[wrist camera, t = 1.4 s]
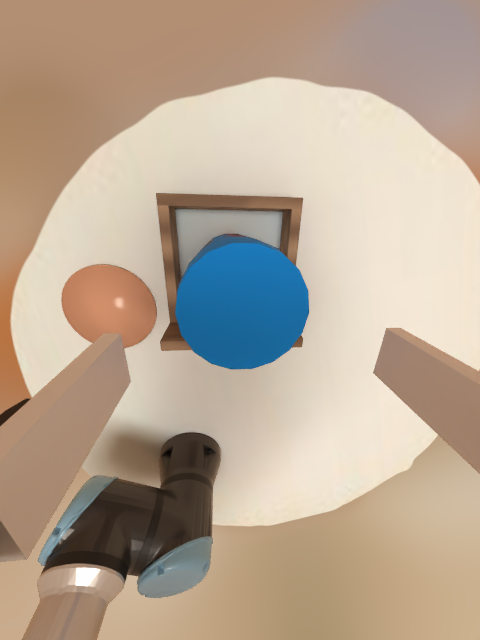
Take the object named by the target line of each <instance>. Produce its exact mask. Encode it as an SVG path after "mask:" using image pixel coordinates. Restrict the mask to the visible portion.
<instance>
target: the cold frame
mask: <svg viewBox="0 0 480 640" xmlns="http://www.w3.org/2000/svg"><path fill="white" fill-rule="evenodd" d="M156 197H157V206H158V215H159V224H160V233H161V243H162V252H163V261H164V270H165V279H166V288H167V297H168V307H169V316H170V324H169V326H168V328H167V330H166V331H165V333H164V335H163V337H162V339H161V341H160V344H161V351H169V350H192V349H191V347H190V346H189V345H188V343H187V342H186V341H185V339H184V338H183V337H182V335H181V333H180V329H179V326H178V322H177V319H176V315H175V310H176V300H177V290H178V285H179V283H180V281H181V276H180V264H179V252H178V240H177V228H176V216H175V209H209V210H247V211H283V220H282V232H281V244H280V251H281V252H282V253H283V254H284V255H285V256H286V257H287V258H288V259H289V260H290V261H291V262H292V263H293V264H294V265H295V266H296V258H297V249H298V240H299V230H300V221H301V212H302V203H303V198H292V197H261V196H230V195H198V194H167V193H156ZM302 342H303V338H302V336H301V335H300V337H299V338H298V339H297V341H296V342H295V343H294V345H293V346H292V347H302Z"/></svg>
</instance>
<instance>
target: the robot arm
mask: <svg viewBox="0 0 480 640" xmlns="http://www.w3.org/2000/svg"><path fill="white" fill-rule="evenodd" d="M373 373H374V374H375V375H376V376H377V377H378V378H379V379H380V380H381V381H382V382H383V383H384V384H385V385H386V386H388V387H389V388H390V389H391V390H392V391H393V392H394V393H395V394H396V395H397V396H398V397H399V398H400V399H401V400H402V401H403V402H404V403H405V404H407V405H408V406H409V407H410V408H411V409H412V410H413V411H414V412H415V413H416V414H417V415H418V416H419V417H420V418H421V419H422V420H423V421H424V422H425V423H427V424H428V425H429V426H430V427H431V428H432V429H433V430H434V431H435V432H436V433H437V434H438V435H439V436H440V437H441V438H443V440H444V441H446V442H447V443H448V444H449V445H450V446H451V447H452V448H453V449H454V450H455V451H456V452H457V453H458V454H459V455H460V456H461V457H462V458H463V459H465V460H466V461H467V462H468V463H469V464H470V465H471V466H472V467H473V468H474V469H475V470H476V471H477V472H478V473H479V474H480V372H479V371H477V370H475V369H473V368H472V367H470V366H468V365H466V364H464V363H463V362H461V361H459V360H457V359H455V358H454V357H452V356H450V355H448V354H446V353H445V352H443V351H441V350H439V349H437V348H436V347H434V346H432V345H430V344H428V343H427V342H425V341H423V340H421V339H419V338H418V337H416V336H414V335H412V334H410V333H409V332H407V331H405V330H403V329H401V328H386V331H385V335H384V338H383V342H382V345H381V348H380V352H379V355H378V359H377V362H376V365H375V369H374V372H373ZM130 382H131V380H130V375H129V371H128V366H127V361H126V356H125V351H124V346H123V342H122V337H121V333H103V334H102V335H101V336H100V337H99V338H98V339H97V340H96V341H95V342H94V343H92V344H91V345H90V346H89V347H88V348H87V349H86V350H85V351H84V352H82V353H81V354H80V355H79V356H78V357H77V358H76V359H75V360H74V361H72V362H71V363H70V364H69V365H68V366H67V367H66V368H65V369H64V370H62V371H61V372H60V373H59V374H58V375H57V376H56V377H55V378H54V379H52V380H51V381H50V382H49V383H48V384H47V385H46V386H45V387H44V388H42V389H41V390H40V391H39V392H38V393H37V394H36V395H35V396H34V397H32V398H31V399H25V400H23V401H21V402H20V403H18V404H16V405H15V406H13V407H11V408H9V409H8V410H6V411H5V412H3V413H2V414H1V415H0V562H6V561H16V560H26V559H27V558H28V557H29V555H30V553H31V551H32V550H33V548H34V547H35V545H36V543H37V541H38V540H39V538H40V536H41V535H42V533H43V531H44V529H45V528H46V526H47V524H48V523H49V521H50V519H51V517H52V515H53V514H54V512H55V511H56V509H57V507H58V505H59V504H60V502H61V500H62V498H63V497H64V495H65V493H66V491H67V490H68V488H69V487H70V485H71V483H72V481H73V480H74V478H75V476H76V474H77V473H78V471H79V469H80V468H81V466H82V464H83V463H84V461H85V459H86V457H87V456H88V454H89V452H90V451H91V449H92V447H93V445H94V444H95V442H96V440H97V439H98V437H99V435H100V433H101V432H102V430H103V428H104V427H105V425H106V423H107V422H108V420H109V418H110V416H111V415H112V413H113V411H114V410H115V408H116V406H117V404H118V403H119V401H120V399H121V398H122V396H123V394H124V392H125V391H126V389H127V387H128V386H129V384H130ZM220 461H221V451H220V447H219V445H218V444H217V443H216V442H215V441H214V440H213V439H212V438H210V437H208V436H206V435H203V434H198V433H185V434H180V435H177V436H175V437H173V438H171V439H170V440H168V441H167V442H166V443H165V445H164V446H163V448H162V451H161V454H160V459H159V468H160V481H161V486H160V489H159V488H155V487H151V486H147V485H143V484H139V483H134V482H130V481H126V480H122V479H118V477H114V478H112V477H106V476H100V475H98V476H94V477H92V478H90V479H89V480H88V481H87V482H86V483H85V484H84V485H83V486H82V488H81V489H80V491H79V492H78V493H77V494H76V496H75V497H74V499H73V500H72V502H71V503H70V504H69V506H68V508H67V509H66V511H65V512H64V514H63V515H62V517H61V518H60V520H59V522H58V523H57V526H56V528H55V529H54V530H53V532H52V534H51V535H50V537H49V538H48V540H47V541H46V543H45V545H44V547H43V549H42V551H41V553H40V555H39V558H38V562H39V563H41V565H42V566H45V567H44V569H43V571H42V573H41V575H40V577H39V579H38V581H37V586H38V592H39V597H40V603H39V605H38V607H37V609H36V611H35V613H34V615H33V617H32V619H31V622H30V624H29V626H28V628H27V630H26V632H25V634H24V636H23V638H22V640H97V638H98V634H99V631H100V627H101V624H102V621H103V618H104V614H105V611H106V608H107V606H108V604H109V603H110V602H111V601H112V600H113V599H114V598H115V597H116V596H117V595H118V594H119V593H120V592H121V591H122V589H123V587H124V584H125V580H126V577H127V575H134V576H139V577H138V580H137V584H138V592H139V593H140V594H141V595H145V597H150V598H161V597H168V596H172V595H176V594H179V593H182V592H184V591H187V590H188V589H191V588H193V587H194V586H196V585H197V584H198V583H200V582H201V581H202V580H203V579H204V577H205V576H206V574H207V572H208V570H209V567H210V559H211V546H212V542H213V541H212V540H213V539H212V507H213V484H214V481H215V478H216V475H217V472H218V469H219V466H220Z"/></svg>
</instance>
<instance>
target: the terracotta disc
mask: <svg viewBox="0 0 480 640" xmlns="http://www.w3.org/2000/svg"><path fill="white" fill-rule="evenodd" d="M62 308H63V311H64V314H65V317H66V318H67V320H68V322H69V323H70V325H71V326H72V327H73V329H74V330H75V331H76V332H77V333H78V334H79V335H81V336H82V337H83V338H85V339H86V340H88V341H90V342H92V343H94V342H95V341H96V340H97V339H98V338H99V337H100V336H101V335H102V334H103V333H121V337H122V342H123V346H124V348H126V347H130V346H133V345H136V344H138V343H139V342H141V341H142V340H144V339H145V338H146V337H147V336H148V334H149V333H150V332H151V330H152V328H153V326H154V324H155V321H156V314H157V312H156V304H155V300H154V298H153V295H152V293H151V292H150V290H149V289H148V287H147V286H146V285H145V284H144V282H143V281H142V280H140V279H139V278H138V277H137V276H136V275H134V274H133V273H131V272H129V271H127V270H125V269H123V268H120V267H117V266H112V265H94V266H89V267H86V268H83V269H81V270H79V271H77V272H76V273H74V274H73V275H72V276H71V277H70V278H69V279H68V281H67V282H66V284H65V286H64V288H63V292H62Z"/></svg>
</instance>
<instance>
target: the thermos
mask: <svg viewBox="0 0 480 640" xmlns="http://www.w3.org/2000/svg"><path fill="white" fill-rule="evenodd" d="M308 314H309V299H308V289H307V287H306V285H305V282H304V280H303V278H302V275H301V273H300V271H299V269H298V268H297V267H296V266H295V265H294V264H293V263H292V262H291V261H290V260H289V259H288V258H287V257H286V256H285V255H284V254H283V253H282V252H281V251H280V250H279V249H278V248H276V247H273V246H271V245H268V244H266V243H264V242H261V241H259V240H256V239H253V238H250V237H246V236H242V235H239V234H224V235H221V236H218V237H215V238H213V239H212V240H211V241H210V242H209V243H208V244H207V245H205V246H204V248H203V249H202V250H201V251H200V252H199V253H198V254H197V255H196V257H195V258H194V259H193V260H192V261H191V262H190V263H189V265H188V267H187V269H186V271H185V273H184V275H183V277H182V279H181V281H180V283H179V285H178V290H177V300H176V310H175V315H176V319H177V322H178V326H179V329H180V333H181V335H182V337H183V338H184V339H185V341H186V342H187V343H188V345H189V346H190V347H191V349H192V350H193V351H194V352H195V353H196V354H198V355H199V356H201V357H202V358H204V359H205V360H207V361H208V362H210V363H211V364H214V365H218V366H221V367H225V368H229V369H253V368H256V367H259V366H262V365H265V364H268V363H271V362H273V361H275V360H276V359H277V358H279V357H280V356H282V355H283V354H284V353H286V352H287V351H289V350H290V349H291V347H292V346H293V345H294V343H295V342H296V341H297V339H298V338H299V337H300V335H301V334H302V332H303V329H304V326H305V323H306V320H307V317H308Z"/></svg>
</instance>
